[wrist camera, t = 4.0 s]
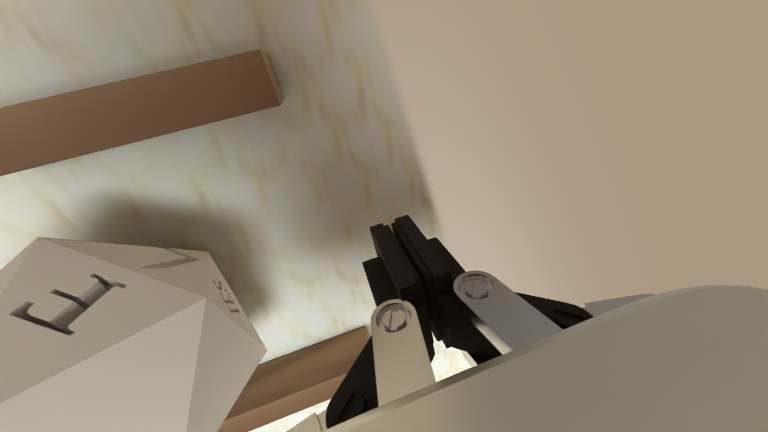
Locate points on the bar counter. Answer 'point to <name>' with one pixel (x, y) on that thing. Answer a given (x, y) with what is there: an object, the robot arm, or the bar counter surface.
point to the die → (119, 340)
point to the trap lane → (159, 117)
